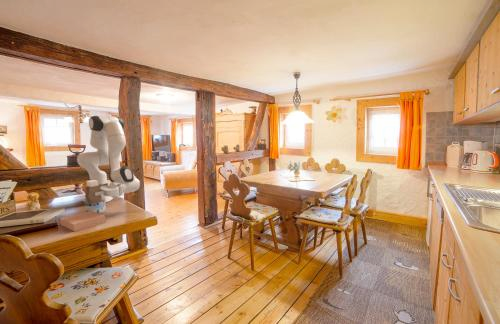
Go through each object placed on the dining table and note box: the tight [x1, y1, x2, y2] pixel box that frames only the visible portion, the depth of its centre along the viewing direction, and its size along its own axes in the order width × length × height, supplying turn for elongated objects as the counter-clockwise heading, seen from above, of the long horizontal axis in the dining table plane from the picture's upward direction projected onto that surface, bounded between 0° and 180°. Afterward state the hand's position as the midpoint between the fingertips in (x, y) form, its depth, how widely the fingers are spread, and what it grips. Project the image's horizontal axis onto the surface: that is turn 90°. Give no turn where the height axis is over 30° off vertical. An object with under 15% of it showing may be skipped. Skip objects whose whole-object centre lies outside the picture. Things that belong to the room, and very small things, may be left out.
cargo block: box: [86, 180, 98, 187], centre depth 143 cm, size 4×4×3 cm
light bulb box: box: [83, 195, 107, 214], centre depth 160 cm, size 11×7×11 cm, turn 168°
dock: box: [59, 211, 106, 232], centre depth 140 cm, size 18×16×4 cm
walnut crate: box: [84, 185, 102, 204], centre depth 143 cm, size 6×6×10 cm
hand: (91, 193), depth 143 cm, fingers closed on walnut crate, 6 cm apart
